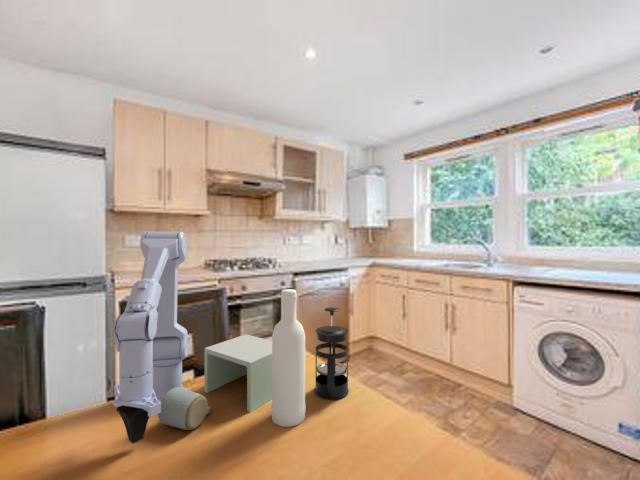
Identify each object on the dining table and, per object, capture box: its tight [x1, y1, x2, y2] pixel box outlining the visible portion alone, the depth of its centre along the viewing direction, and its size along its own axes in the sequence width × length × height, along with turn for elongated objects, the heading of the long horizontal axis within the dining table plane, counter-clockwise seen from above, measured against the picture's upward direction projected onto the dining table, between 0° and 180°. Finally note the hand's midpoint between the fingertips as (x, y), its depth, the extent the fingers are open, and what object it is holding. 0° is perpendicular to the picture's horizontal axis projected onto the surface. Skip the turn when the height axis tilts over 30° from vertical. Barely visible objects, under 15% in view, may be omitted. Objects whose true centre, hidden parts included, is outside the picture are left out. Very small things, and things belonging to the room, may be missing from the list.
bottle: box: [271, 288, 307, 428], centre depth 73 cm, size 8×8×30 cm
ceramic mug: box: [157, 387, 211, 431], centre depth 72 cm, size 11×8×8 cm
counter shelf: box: [203, 334, 272, 413], centre depth 86 cm, size 18×15×12 cm
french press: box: [314, 306, 350, 401], centre depth 85 cm, size 12×9×23 cm
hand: (136, 439), depth 62 cm, fingers closed
